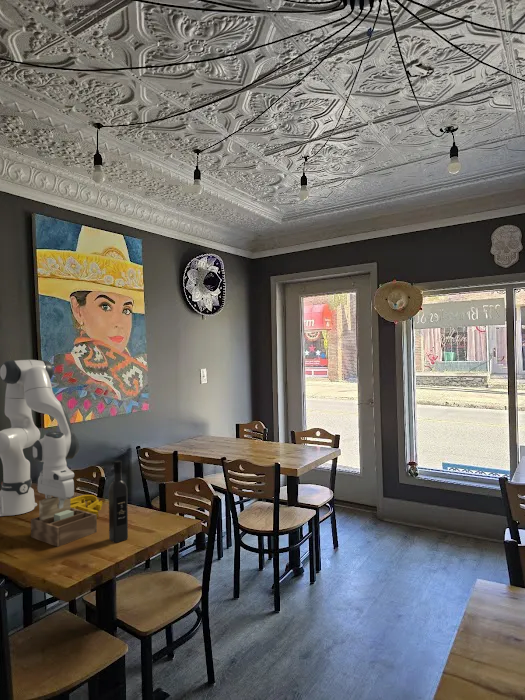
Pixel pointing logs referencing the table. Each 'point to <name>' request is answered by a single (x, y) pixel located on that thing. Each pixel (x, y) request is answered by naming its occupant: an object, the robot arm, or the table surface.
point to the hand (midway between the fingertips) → (55, 506)
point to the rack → (64, 528)
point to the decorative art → (81, 505)
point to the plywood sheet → (51, 507)
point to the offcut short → (63, 515)
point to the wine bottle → (118, 506)
